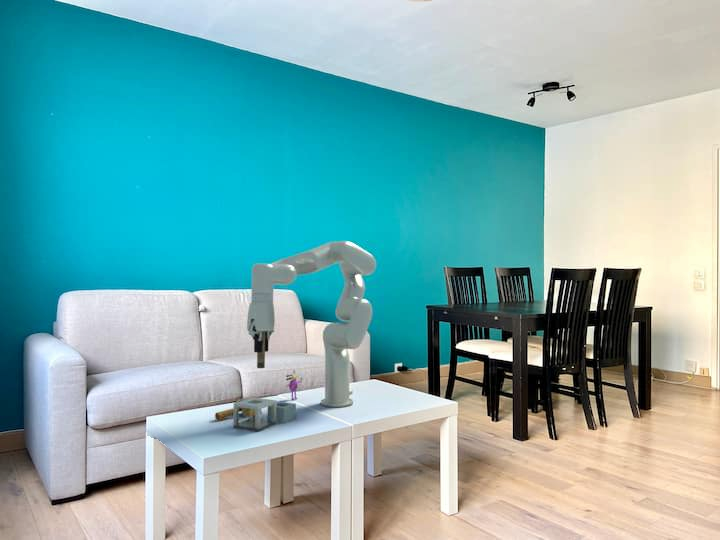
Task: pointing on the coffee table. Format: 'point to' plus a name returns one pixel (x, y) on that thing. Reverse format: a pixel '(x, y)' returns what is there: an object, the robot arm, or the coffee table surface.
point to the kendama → (232, 412)
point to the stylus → (261, 354)
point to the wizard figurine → (293, 383)
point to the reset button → (252, 413)
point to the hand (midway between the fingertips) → (261, 351)
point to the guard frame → (257, 422)
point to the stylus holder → (283, 412)
